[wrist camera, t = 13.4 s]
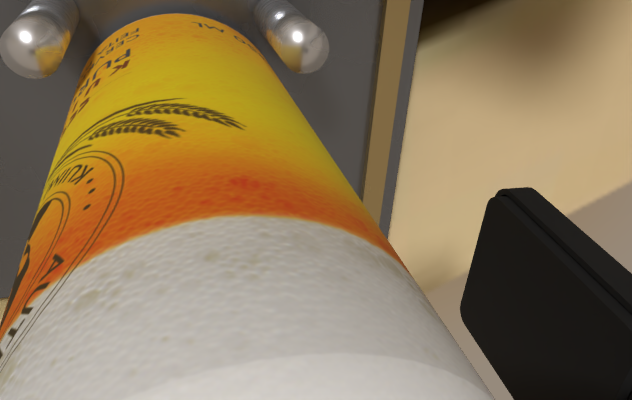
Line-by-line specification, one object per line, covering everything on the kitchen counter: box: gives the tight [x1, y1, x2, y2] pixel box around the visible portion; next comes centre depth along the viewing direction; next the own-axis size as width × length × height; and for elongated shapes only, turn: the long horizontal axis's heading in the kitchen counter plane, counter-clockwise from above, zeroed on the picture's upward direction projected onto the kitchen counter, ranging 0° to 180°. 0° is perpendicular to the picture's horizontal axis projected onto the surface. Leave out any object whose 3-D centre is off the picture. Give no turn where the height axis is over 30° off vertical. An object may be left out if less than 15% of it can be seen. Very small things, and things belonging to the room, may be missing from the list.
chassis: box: [0, 0, 424, 298], centre depth 16 cm, size 16×13×5 cm
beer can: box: [0, 13, 495, 400], centre depth 11 cm, size 6×6×15 cm
